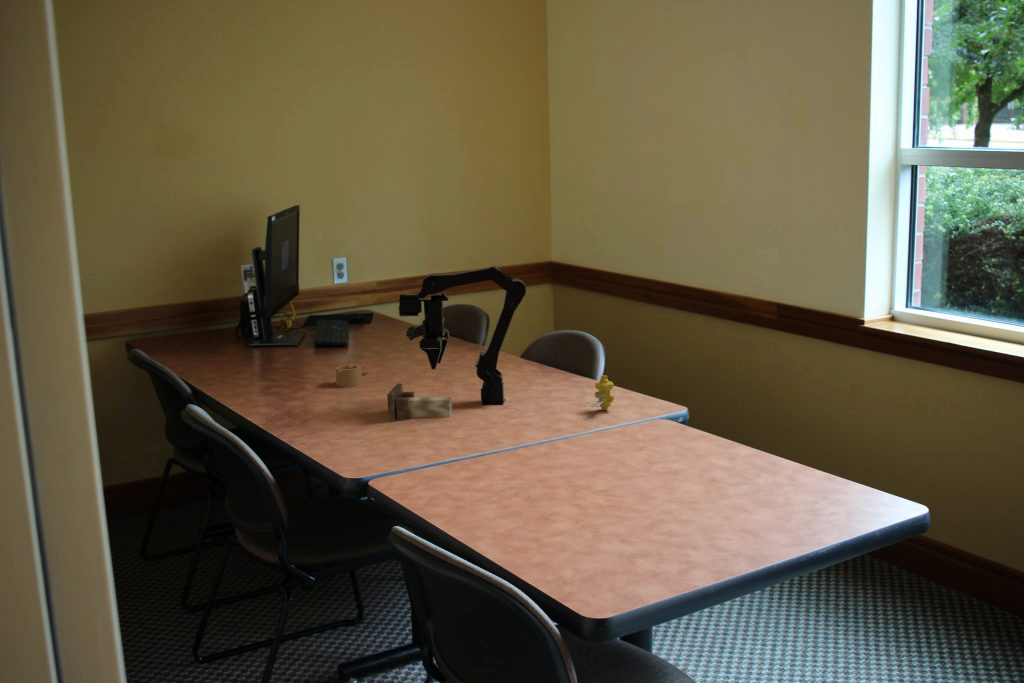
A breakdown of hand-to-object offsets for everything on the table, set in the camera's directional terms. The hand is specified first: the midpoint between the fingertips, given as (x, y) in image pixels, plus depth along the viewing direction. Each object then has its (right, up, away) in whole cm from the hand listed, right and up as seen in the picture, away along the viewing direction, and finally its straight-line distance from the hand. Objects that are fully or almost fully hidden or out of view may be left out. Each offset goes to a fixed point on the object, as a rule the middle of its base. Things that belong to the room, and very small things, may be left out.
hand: (436, 366), depth 303 cm
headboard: (-9, -14, -10) cm, 19 cm away
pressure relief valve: (+49, -13, -13) cm, 52 cm away
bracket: (-30, -7, +35) cm, 46 cm away
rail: (-2, -14, -10) cm, 18 cm away
